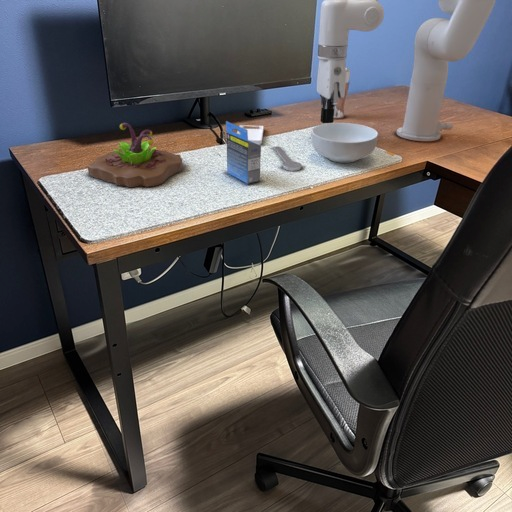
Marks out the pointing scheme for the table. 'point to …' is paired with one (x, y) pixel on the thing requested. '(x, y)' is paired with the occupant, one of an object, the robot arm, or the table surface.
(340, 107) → the beer glass
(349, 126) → the cereal bowl
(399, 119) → the table surface
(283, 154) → the spoon
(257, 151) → the blue cardboard box
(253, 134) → the phone case
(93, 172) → the plant
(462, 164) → the table surface
